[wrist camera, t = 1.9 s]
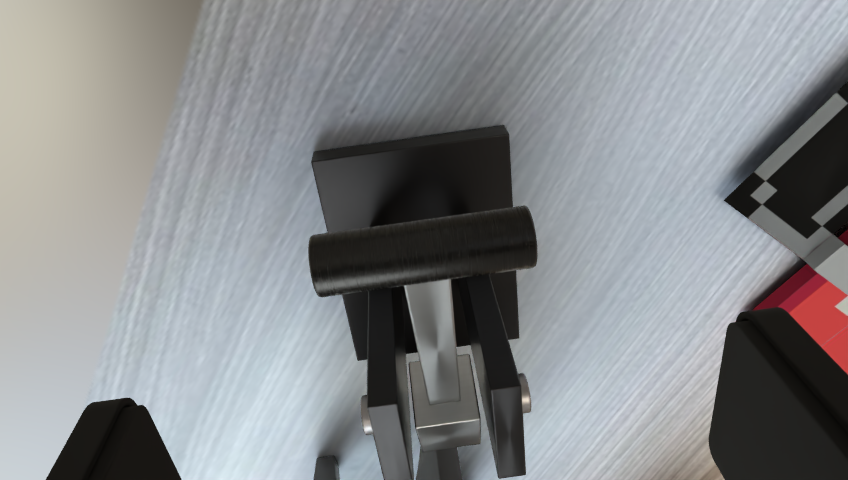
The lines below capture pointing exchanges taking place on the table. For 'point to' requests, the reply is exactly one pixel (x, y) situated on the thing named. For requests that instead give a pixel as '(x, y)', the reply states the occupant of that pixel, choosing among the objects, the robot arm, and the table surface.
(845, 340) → the red board with handle
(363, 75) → the table surface
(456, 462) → the planter
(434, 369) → the tap lever
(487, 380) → the bracket
